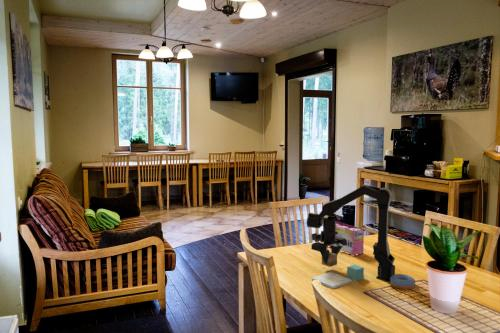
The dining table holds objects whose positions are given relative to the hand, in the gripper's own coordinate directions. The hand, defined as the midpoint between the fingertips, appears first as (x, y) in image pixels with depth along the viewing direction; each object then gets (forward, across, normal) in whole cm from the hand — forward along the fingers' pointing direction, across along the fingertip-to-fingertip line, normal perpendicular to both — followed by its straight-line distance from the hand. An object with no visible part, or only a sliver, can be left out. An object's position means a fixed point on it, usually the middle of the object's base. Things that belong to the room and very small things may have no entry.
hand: (329, 262), depth 186 cm
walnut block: (+1, 0, 0) cm, 1 cm away
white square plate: (+4, +10, +10) cm, 15 cm away
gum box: (+4, -31, -17) cm, 35 cm away
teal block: (+4, -1, +14) cm, 15 cm away
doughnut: (+4, -9, +32) cm, 33 cm away
